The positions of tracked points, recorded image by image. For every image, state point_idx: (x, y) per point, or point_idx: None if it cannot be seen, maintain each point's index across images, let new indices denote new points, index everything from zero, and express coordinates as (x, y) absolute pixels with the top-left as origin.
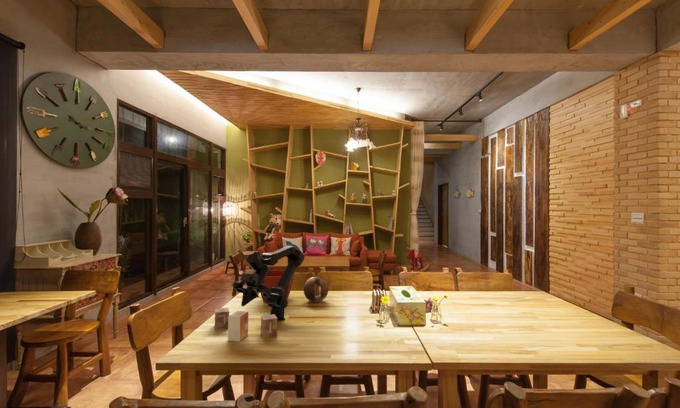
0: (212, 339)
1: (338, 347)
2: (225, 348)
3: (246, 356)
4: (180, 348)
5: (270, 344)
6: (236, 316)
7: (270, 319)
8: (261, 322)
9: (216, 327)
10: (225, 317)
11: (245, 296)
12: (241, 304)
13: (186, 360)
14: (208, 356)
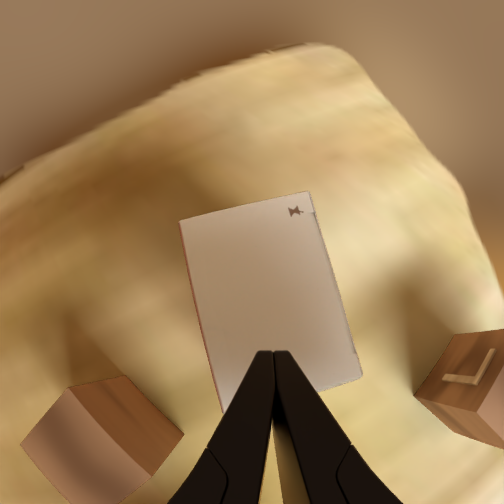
0: (370, 231)
1: None
2: (221, 178)
3: (88, 168)
4: (389, 112)
5: (53, 317)
6: (223, 213)
7: (42, 419)
8: (150, 445)
9: (458, 340)
10: (464, 385)
11: (300, 494)
12: (285, 354)
13: (278, 61)
14: (231, 101)
